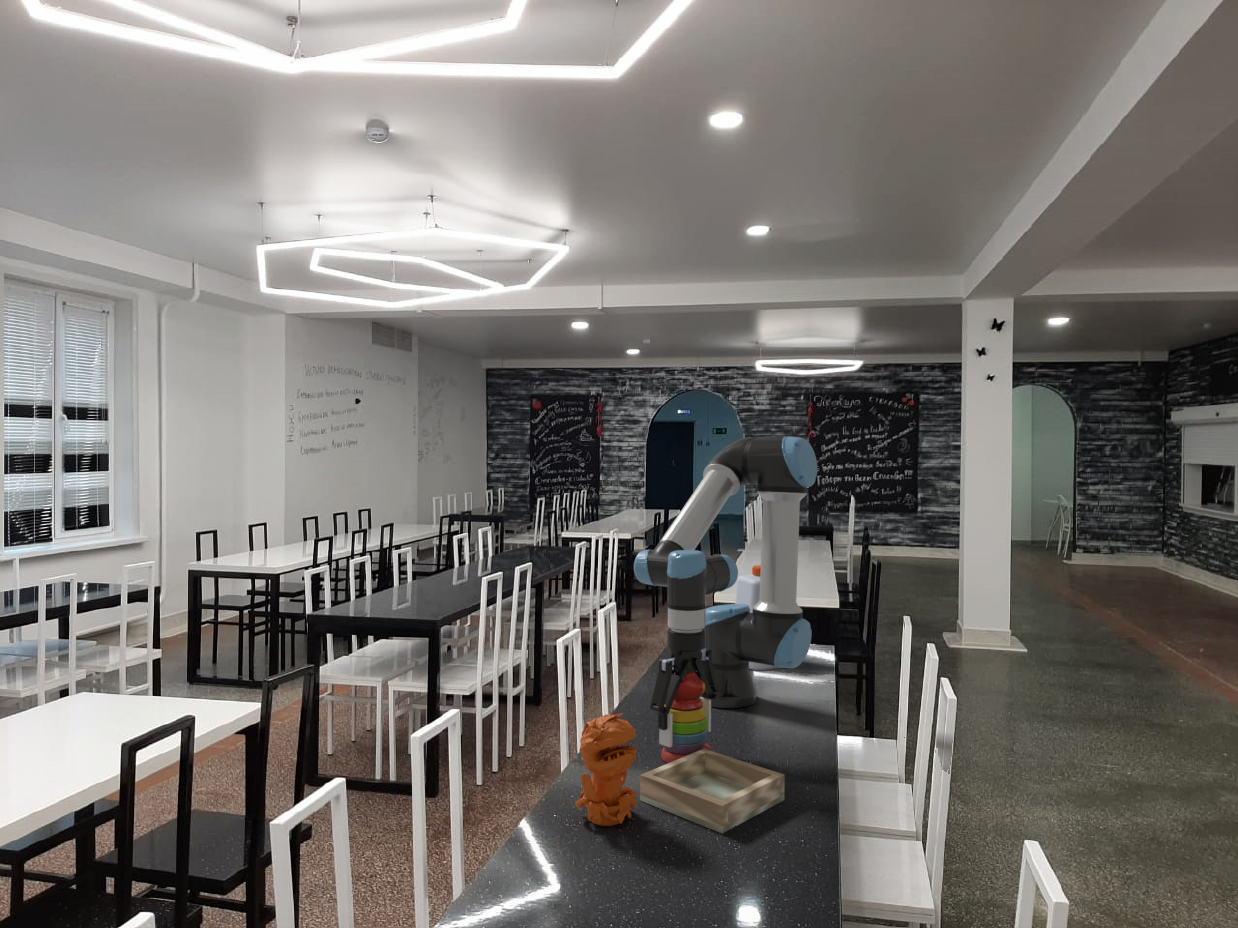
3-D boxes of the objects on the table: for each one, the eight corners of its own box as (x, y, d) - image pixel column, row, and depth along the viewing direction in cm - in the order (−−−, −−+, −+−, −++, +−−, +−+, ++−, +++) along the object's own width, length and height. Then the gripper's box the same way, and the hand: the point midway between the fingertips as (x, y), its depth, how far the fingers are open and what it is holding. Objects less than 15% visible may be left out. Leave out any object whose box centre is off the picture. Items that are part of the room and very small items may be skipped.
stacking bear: (708, 770, 160) (708, 678, 160) (656, 766, 162) (656, 675, 162) (713, 750, 171) (713, 664, 170) (664, 746, 173) (664, 661, 172)
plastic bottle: (753, 672, 230) (754, 571, 229) (725, 659, 244) (726, 564, 243) (799, 667, 236) (800, 568, 235) (769, 655, 250) (770, 561, 249)
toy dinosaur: (617, 839, 132) (618, 726, 131) (561, 823, 138) (562, 714, 137) (652, 813, 141) (653, 708, 141) (599, 799, 147) (599, 697, 147)
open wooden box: (703, 771, 159) (703, 748, 159) (784, 799, 147) (784, 774, 147) (640, 800, 147) (640, 774, 146) (722, 833, 134) (722, 805, 134)
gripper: (708, 617, 177) (707, 719, 178) (631, 635, 160) (631, 747, 161) (737, 622, 172) (736, 727, 172) (661, 641, 155) (660, 758, 155)
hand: (685, 737), depth 166 cm, fingers open, 11 cm apart
